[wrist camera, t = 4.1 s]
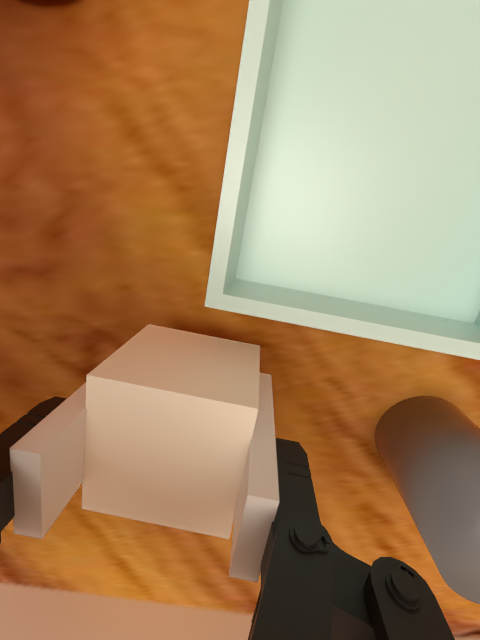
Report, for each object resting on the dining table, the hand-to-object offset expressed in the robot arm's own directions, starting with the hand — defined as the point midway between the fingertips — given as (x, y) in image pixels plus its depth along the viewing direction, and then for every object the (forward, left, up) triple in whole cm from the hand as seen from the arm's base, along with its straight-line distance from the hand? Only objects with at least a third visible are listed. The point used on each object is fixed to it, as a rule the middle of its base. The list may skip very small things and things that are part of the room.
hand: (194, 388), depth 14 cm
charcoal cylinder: (+13, -2, -4) cm, 14 cm away
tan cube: (0, 0, -1) cm, 1 cm away
